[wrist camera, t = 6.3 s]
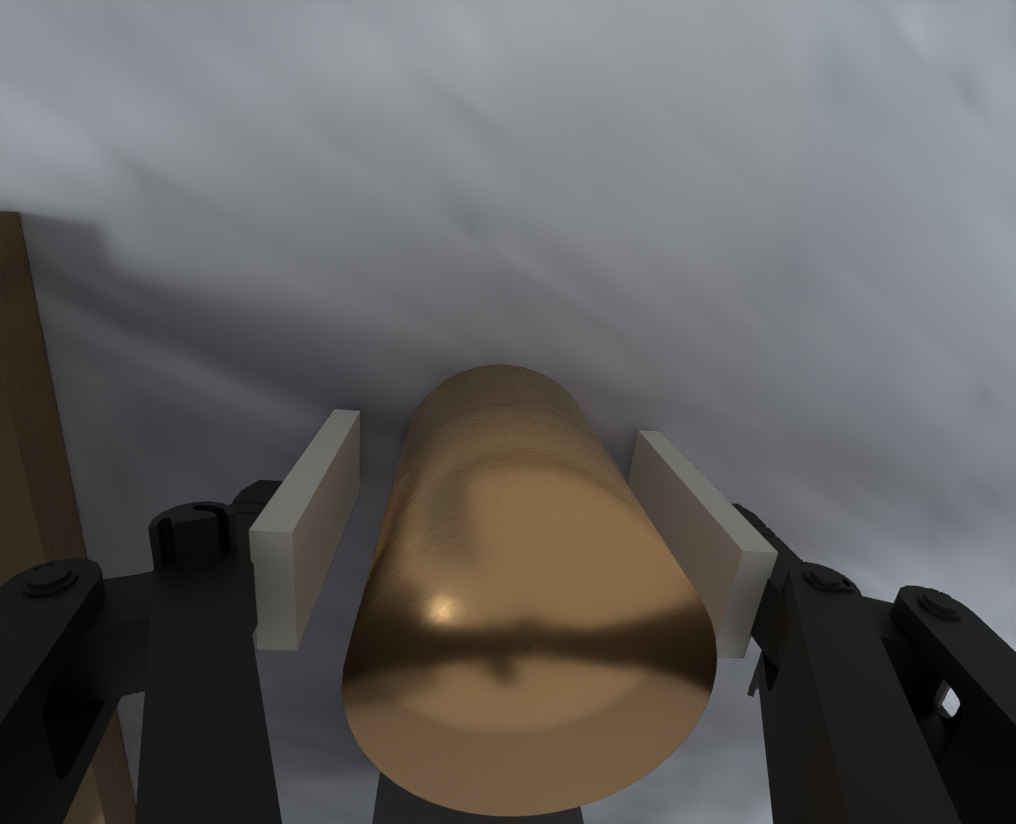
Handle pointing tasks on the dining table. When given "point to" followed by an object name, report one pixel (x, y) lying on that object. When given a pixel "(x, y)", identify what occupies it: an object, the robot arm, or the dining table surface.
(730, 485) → the dining table surface
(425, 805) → the charcoal block
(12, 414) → the box
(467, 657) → the copper cylinder
